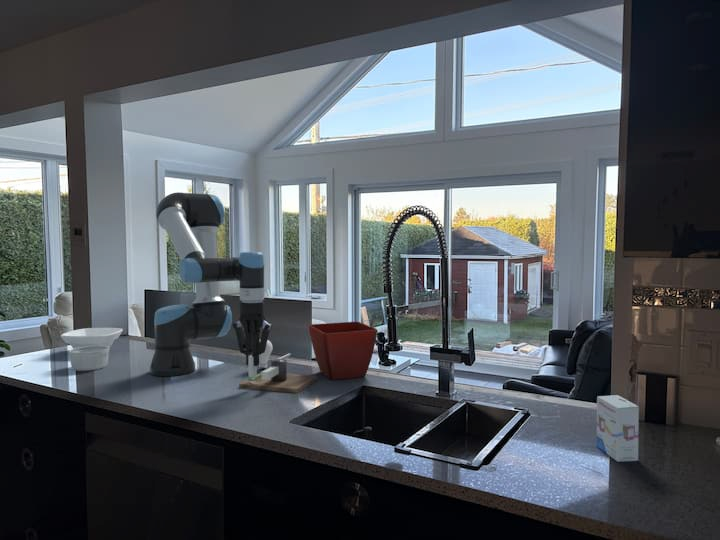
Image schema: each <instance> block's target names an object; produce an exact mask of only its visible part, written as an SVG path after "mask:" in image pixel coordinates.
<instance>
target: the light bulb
mask: <svg viewBox="0 0 720 540" xmlns="http://www.w3.org/2000/svg"><path fill="white" fill-rule="evenodd" d="M260 340H261V338H260ZM272 352H273V344H272V342H271V341H270V340H269V339H267V344H266V349H265V352H264V353H262V354H260V355H259V365H258V367H259V368H260V369H261V370H262V369H263V370H266V368H267V369H268V368H269V367H268V362H269V357H270V356H271V354H272Z"/></svg>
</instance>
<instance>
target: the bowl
mask: <svg viewBox="0 0 720 540" xmlns="http://www.w3.org/2000/svg"><path fill="white" fill-rule="evenodd" d="M122 332H123V328H119V327H88V328H87V327H86V328H79V329H75V330H70V331H67V332H63V334H61V335H60V338H61V339H62V340H63V341H64V343H65V344H69V345H70V347H71V348H72V349H75V348H79V347H86V346H108V347H109V349H110V348H111V346H112V345H113V343H114V341H115V340H117V339H119V337H120V335H121V334H122Z"/></svg>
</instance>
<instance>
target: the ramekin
mask: <svg viewBox="0 0 720 540" xmlns="http://www.w3.org/2000/svg"><path fill="white" fill-rule="evenodd" d="M109 352H110V348H109V347H108V346H86V347H79V348H75V349H73V348H72V349H70V350H69V351H68V355H69V360H70V365H71V368H72V370H74V371H78V372H87V371H88V372H89V371H96V370H100V369H103V368H106V366H107V365H108V363H109V362H108V361H109Z"/></svg>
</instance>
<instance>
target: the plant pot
mask: <svg viewBox="0 0 720 540" xmlns="http://www.w3.org/2000/svg"><path fill="white" fill-rule="evenodd" d="M308 328H309V335H310V340H311V346H312V349H313V352H314V355H315V360H316V363H317V366H318V368H319V371H320V372H321V374H323V375H324V376H325V377H326V378H328V379H329V380H331V381H335V380H337V381H338V380H345V379H352V378H353V379H354V378H362V377H366V376H367V373H368V370H369V367H370V364H371V361H372V358H373V353H374V349H375V345H376V342H377V341H376V340H377V334H378V329H377V328H374V327H372V326H369V325H367V324H365V323H363V322H361V321H345V322H343V321H342V322H341V321H340V322H328V323H314V324H309V325H308Z"/></svg>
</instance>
